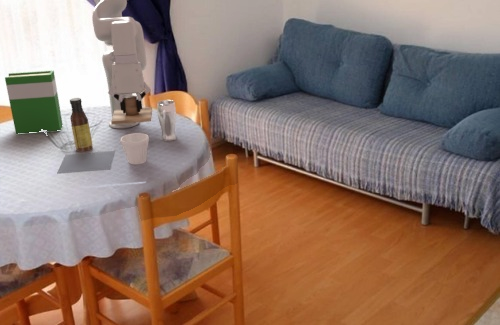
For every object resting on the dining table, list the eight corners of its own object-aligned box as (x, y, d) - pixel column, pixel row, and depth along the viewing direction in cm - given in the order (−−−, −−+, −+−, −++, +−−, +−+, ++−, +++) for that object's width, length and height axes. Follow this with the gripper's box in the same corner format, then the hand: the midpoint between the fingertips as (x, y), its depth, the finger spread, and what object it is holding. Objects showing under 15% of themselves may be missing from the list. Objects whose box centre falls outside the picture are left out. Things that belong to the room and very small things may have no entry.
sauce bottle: (96, 148, 220) (89, 97, 213) (85, 153, 215) (77, 102, 208) (82, 145, 223) (75, 96, 215) (71, 151, 218) (63, 100, 210)
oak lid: (115, 112, 204) (112, 93, 202) (152, 110, 206) (150, 91, 203) (111, 124, 192) (108, 103, 190) (150, 121, 194) (148, 101, 191)
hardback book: (16, 134, 238) (4, 77, 229) (19, 129, 245) (8, 73, 236) (60, 131, 240) (50, 74, 231) (62, 125, 247) (53, 70, 238)
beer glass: (179, 136, 230) (176, 99, 224) (175, 142, 223) (172, 104, 218) (162, 136, 230) (159, 99, 225) (158, 142, 224) (154, 104, 218)
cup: (127, 169, 199) (124, 144, 196) (119, 160, 208) (116, 136, 204) (155, 163, 204) (152, 139, 200) (146, 154, 212) (143, 131, 208)
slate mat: (65, 155, 214) (65, 154, 214) (115, 151, 216) (115, 150, 215) (56, 174, 197) (56, 173, 197) (110, 170, 199) (110, 169, 199)
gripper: (98, 62, 187) (105, 116, 194) (151, 59, 189) (156, 113, 196) (101, 58, 194) (108, 110, 201) (151, 55, 196) (157, 106, 203)
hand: (131, 111), depth 198 cm, fingers closed on oak lid, 4 cm apart
